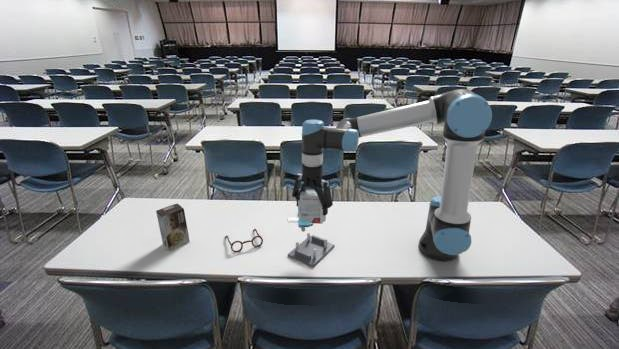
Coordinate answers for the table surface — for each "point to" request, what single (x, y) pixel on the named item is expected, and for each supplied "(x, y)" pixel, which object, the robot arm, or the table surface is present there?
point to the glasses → (245, 242)
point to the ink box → (310, 207)
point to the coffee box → (173, 226)
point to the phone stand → (297, 219)
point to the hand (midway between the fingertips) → (311, 217)
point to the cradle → (311, 250)
